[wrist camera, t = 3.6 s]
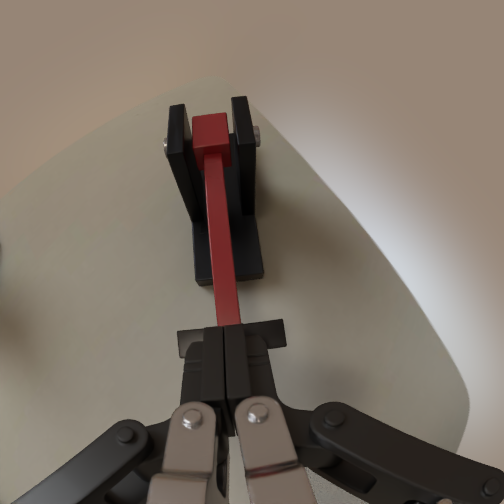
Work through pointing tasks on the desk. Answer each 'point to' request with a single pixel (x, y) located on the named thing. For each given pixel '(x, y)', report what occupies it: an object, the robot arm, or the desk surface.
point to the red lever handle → (222, 234)
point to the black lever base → (237, 191)
